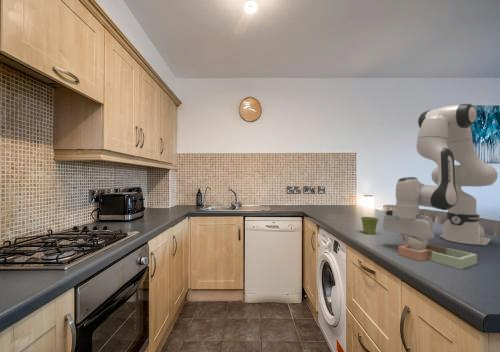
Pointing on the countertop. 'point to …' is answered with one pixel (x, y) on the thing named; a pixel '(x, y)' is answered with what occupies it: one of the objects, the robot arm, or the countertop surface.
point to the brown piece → (432, 250)
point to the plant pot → (369, 224)
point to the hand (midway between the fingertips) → (406, 244)
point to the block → (417, 243)
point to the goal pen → (455, 258)
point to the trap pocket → (412, 253)
